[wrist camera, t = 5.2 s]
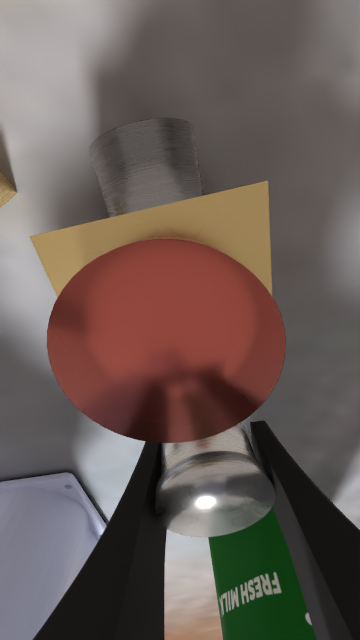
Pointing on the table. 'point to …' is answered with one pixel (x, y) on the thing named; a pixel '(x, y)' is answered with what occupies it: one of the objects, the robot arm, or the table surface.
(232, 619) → the milk carton
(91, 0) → the table surface
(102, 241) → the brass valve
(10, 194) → the elbow
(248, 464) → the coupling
